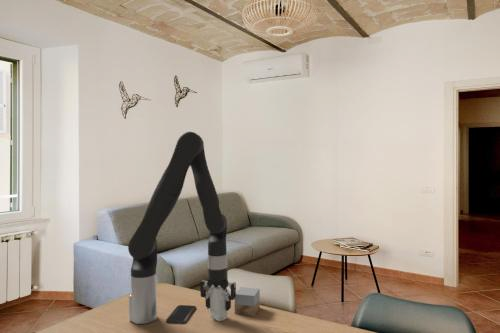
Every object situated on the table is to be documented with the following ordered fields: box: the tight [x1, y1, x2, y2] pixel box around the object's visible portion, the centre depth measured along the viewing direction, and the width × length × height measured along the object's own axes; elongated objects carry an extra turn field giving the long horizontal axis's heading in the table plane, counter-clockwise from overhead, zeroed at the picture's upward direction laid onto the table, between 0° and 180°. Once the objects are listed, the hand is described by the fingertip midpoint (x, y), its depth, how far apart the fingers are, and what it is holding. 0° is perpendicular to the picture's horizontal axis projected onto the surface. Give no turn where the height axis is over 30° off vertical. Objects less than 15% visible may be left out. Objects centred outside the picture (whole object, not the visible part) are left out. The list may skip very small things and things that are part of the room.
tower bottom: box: [234, 299, 261, 316], centre depth 146 cm, size 8×8×4 cm
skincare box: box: [208, 287, 228, 322], centre depth 139 cm, size 6×4×12 cm
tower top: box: [234, 286, 261, 306], centre depth 145 cm, size 8×8×4 cm
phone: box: [165, 304, 197, 325], centre depth 142 cm, size 8×1×15 cm
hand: (218, 308), depth 139 cm, fingers closed on skincare box, 7 cm apart
